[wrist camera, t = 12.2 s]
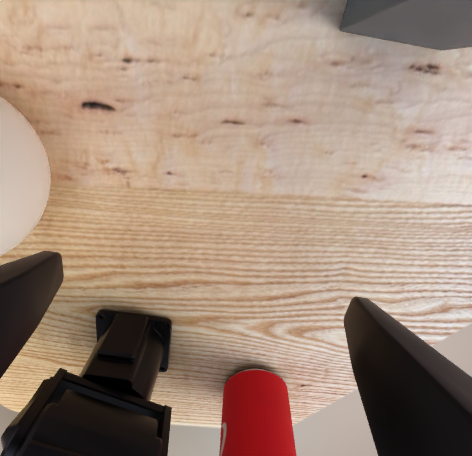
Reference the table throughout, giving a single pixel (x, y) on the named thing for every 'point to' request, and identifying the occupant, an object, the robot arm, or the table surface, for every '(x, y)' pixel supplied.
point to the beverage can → (256, 416)
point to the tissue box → (412, 21)
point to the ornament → (20, 177)
